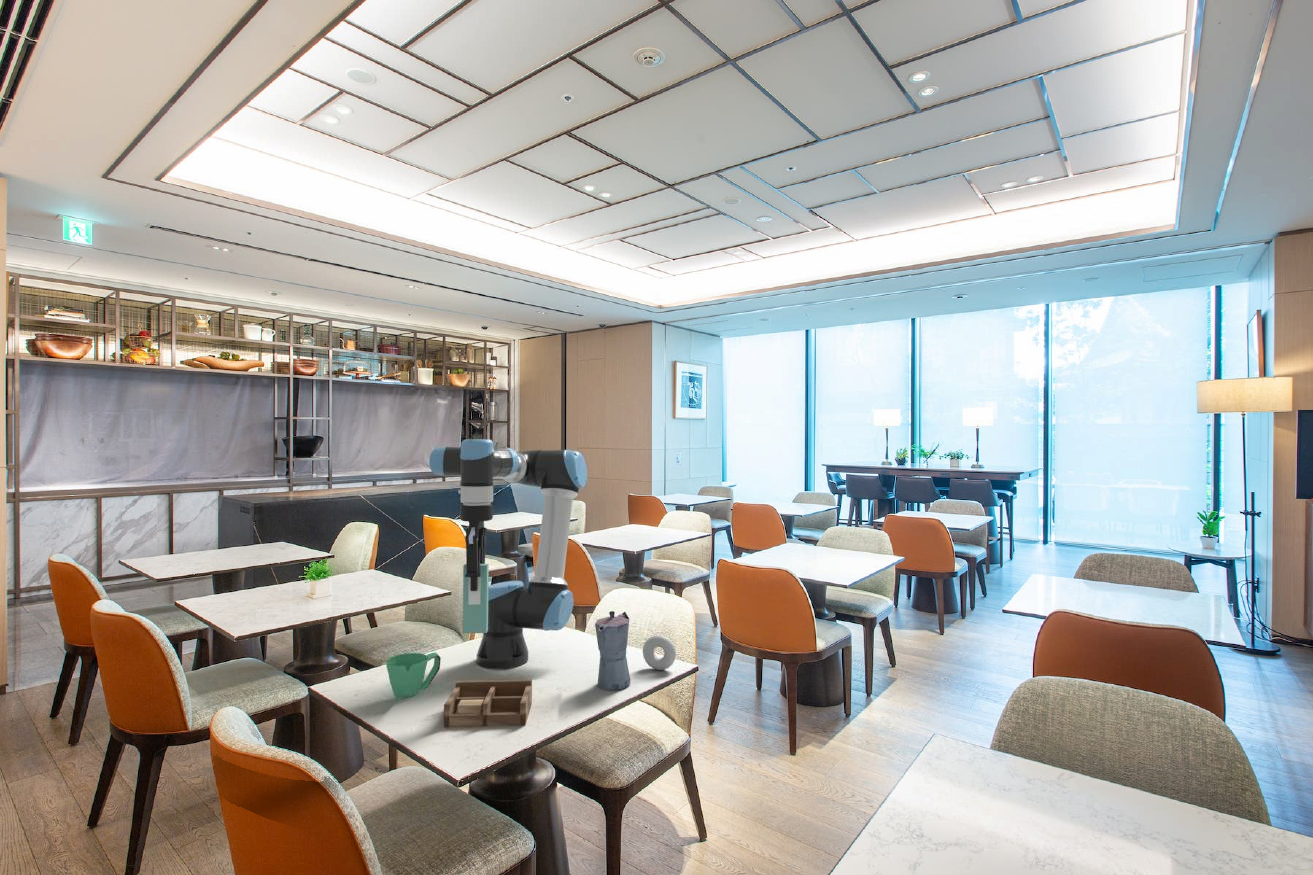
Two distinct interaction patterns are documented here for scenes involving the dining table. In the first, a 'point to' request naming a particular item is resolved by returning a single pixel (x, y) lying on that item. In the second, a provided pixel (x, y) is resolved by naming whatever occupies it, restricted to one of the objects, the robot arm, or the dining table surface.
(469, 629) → the panel
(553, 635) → the dining table surface
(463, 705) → the offcut top
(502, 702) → the rack
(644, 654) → the donut
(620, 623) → the moka pot
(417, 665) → the mug
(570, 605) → the robot arm
